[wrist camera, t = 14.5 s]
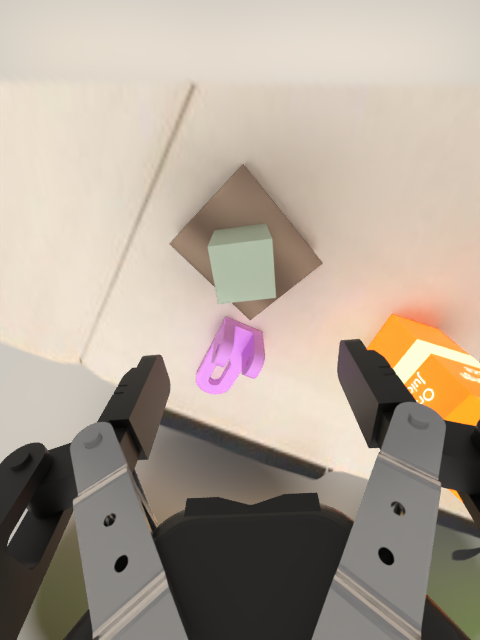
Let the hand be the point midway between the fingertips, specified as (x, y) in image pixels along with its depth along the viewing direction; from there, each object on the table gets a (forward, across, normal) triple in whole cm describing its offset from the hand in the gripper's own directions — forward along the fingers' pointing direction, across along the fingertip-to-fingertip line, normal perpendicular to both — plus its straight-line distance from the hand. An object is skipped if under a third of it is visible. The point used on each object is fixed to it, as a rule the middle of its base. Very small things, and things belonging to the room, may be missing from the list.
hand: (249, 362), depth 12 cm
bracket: (+22, +5, +17) cm, 28 cm away
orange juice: (+22, -20, +17) cm, 34 cm away
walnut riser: (+22, 0, 0) cm, 22 cm away
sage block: (+17, 0, 0) cm, 17 cm away
